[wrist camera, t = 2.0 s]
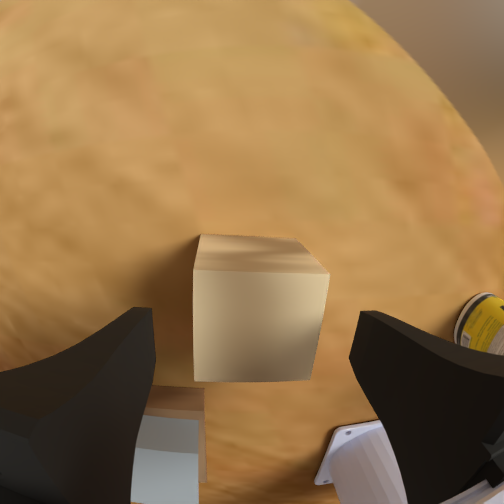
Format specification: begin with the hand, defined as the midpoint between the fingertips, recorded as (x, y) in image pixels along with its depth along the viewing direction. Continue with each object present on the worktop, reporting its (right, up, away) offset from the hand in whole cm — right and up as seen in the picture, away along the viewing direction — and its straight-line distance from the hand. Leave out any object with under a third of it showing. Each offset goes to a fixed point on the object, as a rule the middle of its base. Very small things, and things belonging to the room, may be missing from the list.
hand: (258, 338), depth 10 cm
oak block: (-1, +1, +5) cm, 5 cm away
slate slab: (-7, -9, +6) cm, 13 cm away
